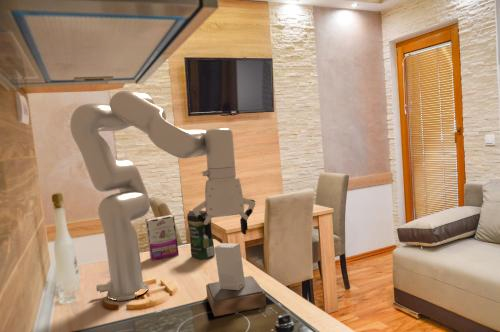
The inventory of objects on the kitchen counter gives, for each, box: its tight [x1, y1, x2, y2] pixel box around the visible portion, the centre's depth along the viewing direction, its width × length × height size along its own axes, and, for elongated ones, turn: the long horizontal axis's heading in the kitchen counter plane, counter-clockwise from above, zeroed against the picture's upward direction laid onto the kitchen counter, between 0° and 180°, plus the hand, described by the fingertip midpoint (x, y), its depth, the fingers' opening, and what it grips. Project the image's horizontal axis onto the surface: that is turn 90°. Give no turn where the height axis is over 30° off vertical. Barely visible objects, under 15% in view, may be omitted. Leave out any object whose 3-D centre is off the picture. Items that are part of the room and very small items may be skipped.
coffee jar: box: [186, 209, 216, 260], centre depth 157 cm, size 10×8×19 cm
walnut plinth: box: [205, 275, 267, 318], centre depth 110 cm, size 14×14×4 cm
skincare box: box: [214, 242, 245, 290], centre depth 110 cm, size 6×4×12 cm
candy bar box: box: [144, 214, 179, 262], centre depth 162 cm, size 11×5×16 cm, turn 114°
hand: (226, 235), depth 110 cm, fingers open, 9 cm apart
